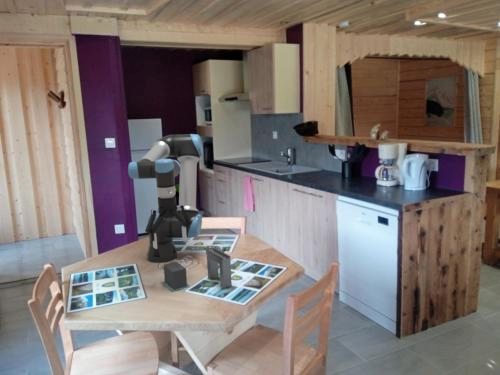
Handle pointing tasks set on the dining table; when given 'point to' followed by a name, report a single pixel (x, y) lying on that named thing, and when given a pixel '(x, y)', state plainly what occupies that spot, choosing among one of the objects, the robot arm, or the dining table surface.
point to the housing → (225, 267)
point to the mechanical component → (214, 247)
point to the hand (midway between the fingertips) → (170, 244)
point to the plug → (175, 275)
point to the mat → (173, 289)
